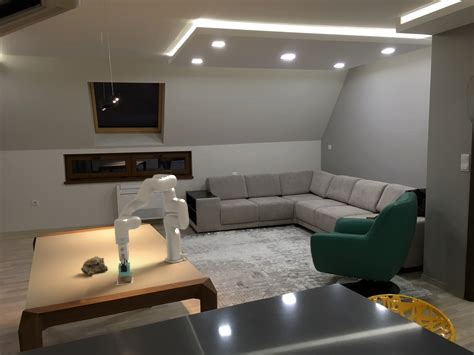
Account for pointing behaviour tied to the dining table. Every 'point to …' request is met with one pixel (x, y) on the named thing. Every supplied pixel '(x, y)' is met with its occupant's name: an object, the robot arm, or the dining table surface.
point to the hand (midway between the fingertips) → (124, 269)
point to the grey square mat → (126, 283)
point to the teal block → (122, 274)
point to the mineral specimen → (94, 266)
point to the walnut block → (124, 279)
